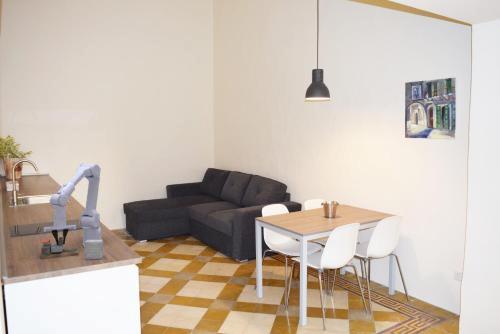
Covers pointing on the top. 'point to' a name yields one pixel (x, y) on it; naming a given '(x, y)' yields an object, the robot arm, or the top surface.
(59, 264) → the top surface
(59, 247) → the carriage
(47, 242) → the button
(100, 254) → the medicine box
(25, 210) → the top surface
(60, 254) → the rail bed
